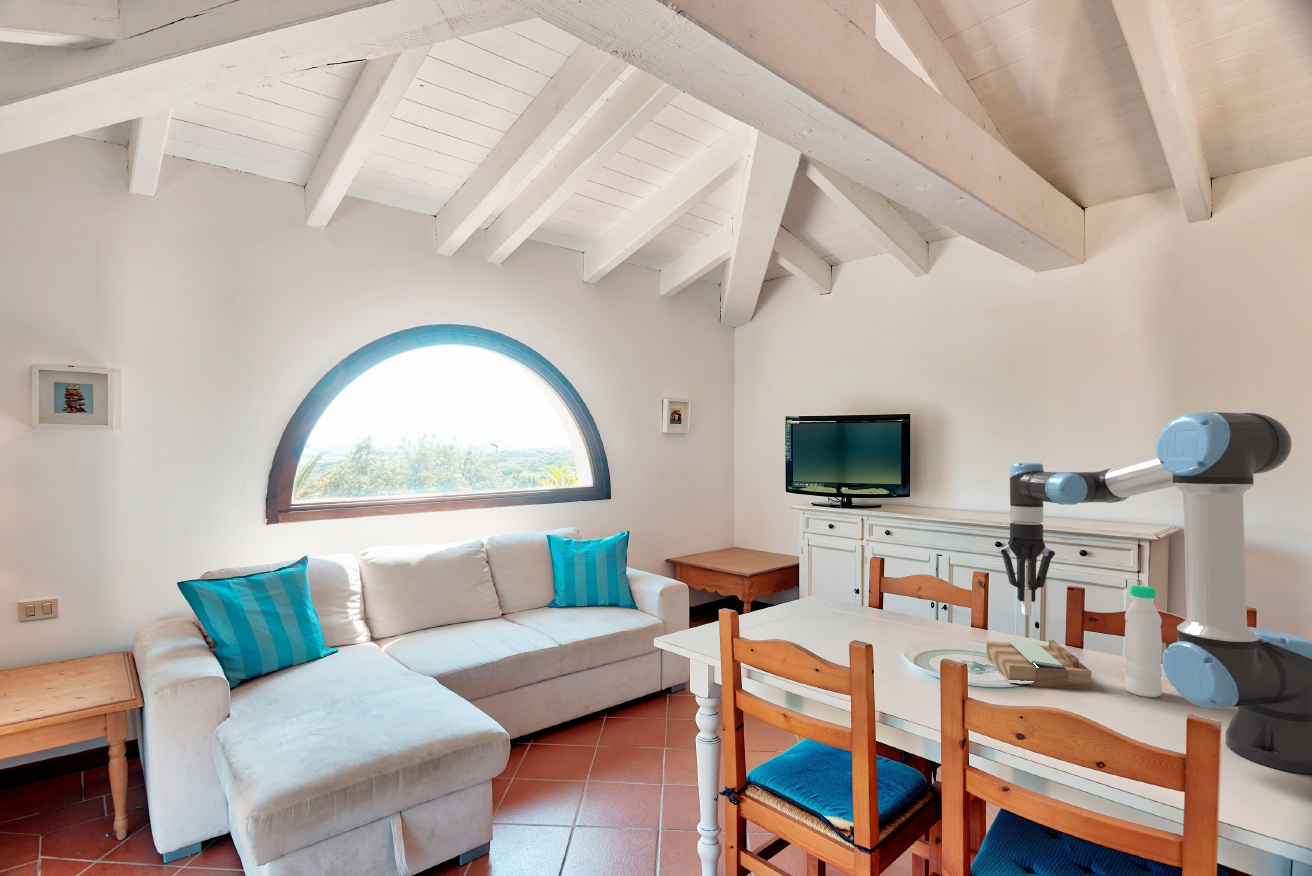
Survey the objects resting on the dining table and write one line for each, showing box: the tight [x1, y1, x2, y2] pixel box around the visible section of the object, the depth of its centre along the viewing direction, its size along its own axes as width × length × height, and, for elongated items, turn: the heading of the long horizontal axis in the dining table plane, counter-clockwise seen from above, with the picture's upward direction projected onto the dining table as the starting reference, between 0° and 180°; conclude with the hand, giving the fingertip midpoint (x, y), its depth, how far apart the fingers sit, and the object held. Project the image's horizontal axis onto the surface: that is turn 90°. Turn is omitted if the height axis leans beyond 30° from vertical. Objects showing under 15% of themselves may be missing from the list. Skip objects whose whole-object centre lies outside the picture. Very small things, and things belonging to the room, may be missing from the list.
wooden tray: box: [985, 639, 1092, 690], centre depth 171 cm, size 21×18×6 cm
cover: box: [1006, 637, 1065, 669], centre depth 171 cm, size 19×7×1 cm, turn 168°
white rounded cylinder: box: [1036, 664, 1057, 669], centre depth 170 cm, size 13×3×3 cm, turn 168°
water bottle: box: [1124, 585, 1163, 699], centre depth 157 cm, size 7×7×25 cm
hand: (1026, 614), depth 171 cm, fingers closed
